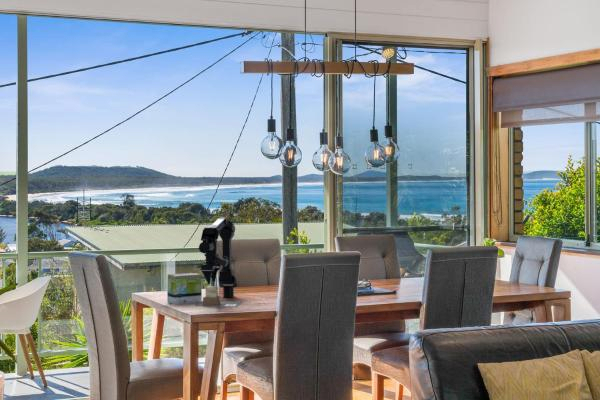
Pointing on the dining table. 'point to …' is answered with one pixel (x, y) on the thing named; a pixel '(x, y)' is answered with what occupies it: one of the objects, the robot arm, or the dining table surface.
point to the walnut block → (211, 301)
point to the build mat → (222, 304)
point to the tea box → (184, 288)
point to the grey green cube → (211, 291)
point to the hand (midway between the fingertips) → (211, 282)
